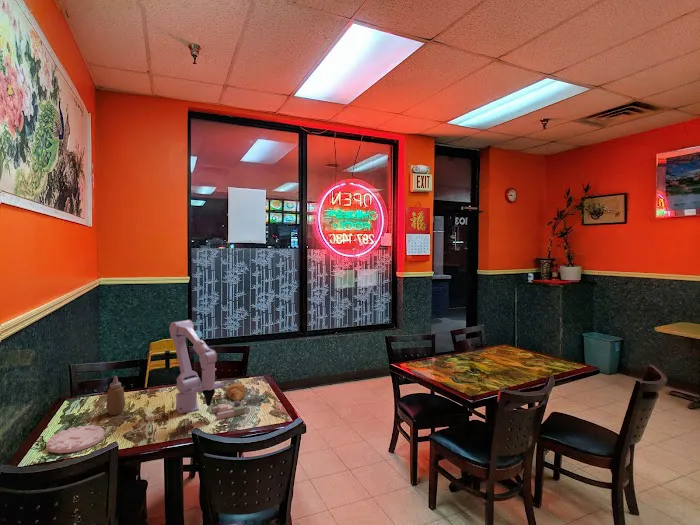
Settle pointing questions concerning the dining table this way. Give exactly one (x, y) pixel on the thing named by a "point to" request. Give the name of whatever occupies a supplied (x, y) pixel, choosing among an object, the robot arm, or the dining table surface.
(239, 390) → the croissant
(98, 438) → the embossed medallion
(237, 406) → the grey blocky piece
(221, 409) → the pink stepped block
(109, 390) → the squeeze bottle
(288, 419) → the dining table surface
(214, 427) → the dining table surface
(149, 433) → the dining table surface
